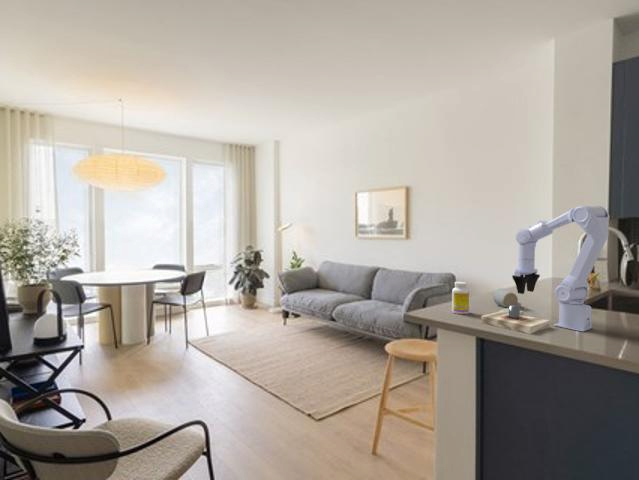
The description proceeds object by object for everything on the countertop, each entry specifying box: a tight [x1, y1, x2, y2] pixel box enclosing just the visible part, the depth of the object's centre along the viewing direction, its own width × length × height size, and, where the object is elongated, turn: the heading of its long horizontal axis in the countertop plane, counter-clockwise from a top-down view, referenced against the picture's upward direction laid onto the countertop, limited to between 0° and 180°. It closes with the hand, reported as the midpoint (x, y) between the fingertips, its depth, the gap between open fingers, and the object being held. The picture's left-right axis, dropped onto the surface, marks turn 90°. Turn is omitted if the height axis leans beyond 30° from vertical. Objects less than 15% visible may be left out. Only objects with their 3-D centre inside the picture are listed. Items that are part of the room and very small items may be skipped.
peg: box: [508, 305, 521, 320], centre depth 138 cm, size 4×4×7 cm
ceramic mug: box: [492, 288, 522, 309], centre depth 168 cm, size 11×8×8 cm
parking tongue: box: [497, 307, 525, 316], centre depth 151 cm, size 7×7×2 cm
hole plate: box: [480, 311, 550, 335], centre depth 138 cm, size 18×14×3 cm
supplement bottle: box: [451, 281, 470, 315], centre depth 157 cm, size 7×7×13 cm
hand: (525, 292), depth 152 cm, fingers open, 7 cm apart
